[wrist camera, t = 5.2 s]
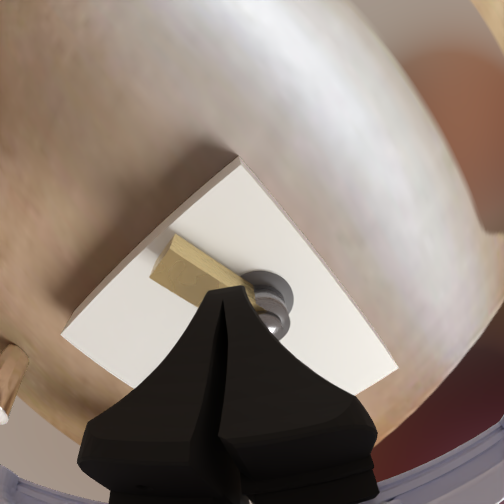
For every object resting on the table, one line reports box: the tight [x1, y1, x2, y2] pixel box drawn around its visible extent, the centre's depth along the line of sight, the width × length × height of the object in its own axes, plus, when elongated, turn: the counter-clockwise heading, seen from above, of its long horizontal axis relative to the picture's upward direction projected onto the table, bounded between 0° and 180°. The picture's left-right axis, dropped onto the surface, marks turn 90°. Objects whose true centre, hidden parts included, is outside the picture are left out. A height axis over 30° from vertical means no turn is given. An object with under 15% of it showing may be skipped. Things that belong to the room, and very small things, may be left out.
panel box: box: [61, 156, 398, 395], centre depth 22 cm, size 18×22×3 cm
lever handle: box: [149, 234, 290, 341], centre depth 16 cm, size 8×3×2 cm, turn 50°
